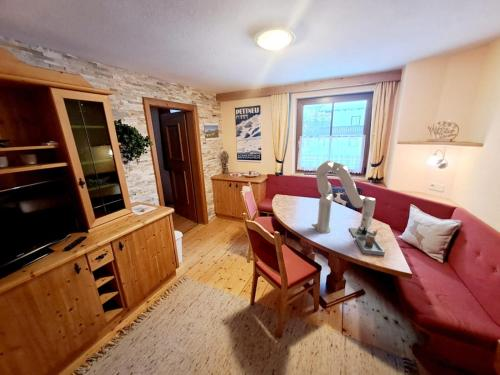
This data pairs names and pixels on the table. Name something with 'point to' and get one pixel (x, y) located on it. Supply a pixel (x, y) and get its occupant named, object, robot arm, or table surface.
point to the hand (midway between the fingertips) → (363, 234)
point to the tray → (374, 250)
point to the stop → (369, 241)
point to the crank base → (357, 232)
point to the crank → (368, 231)
